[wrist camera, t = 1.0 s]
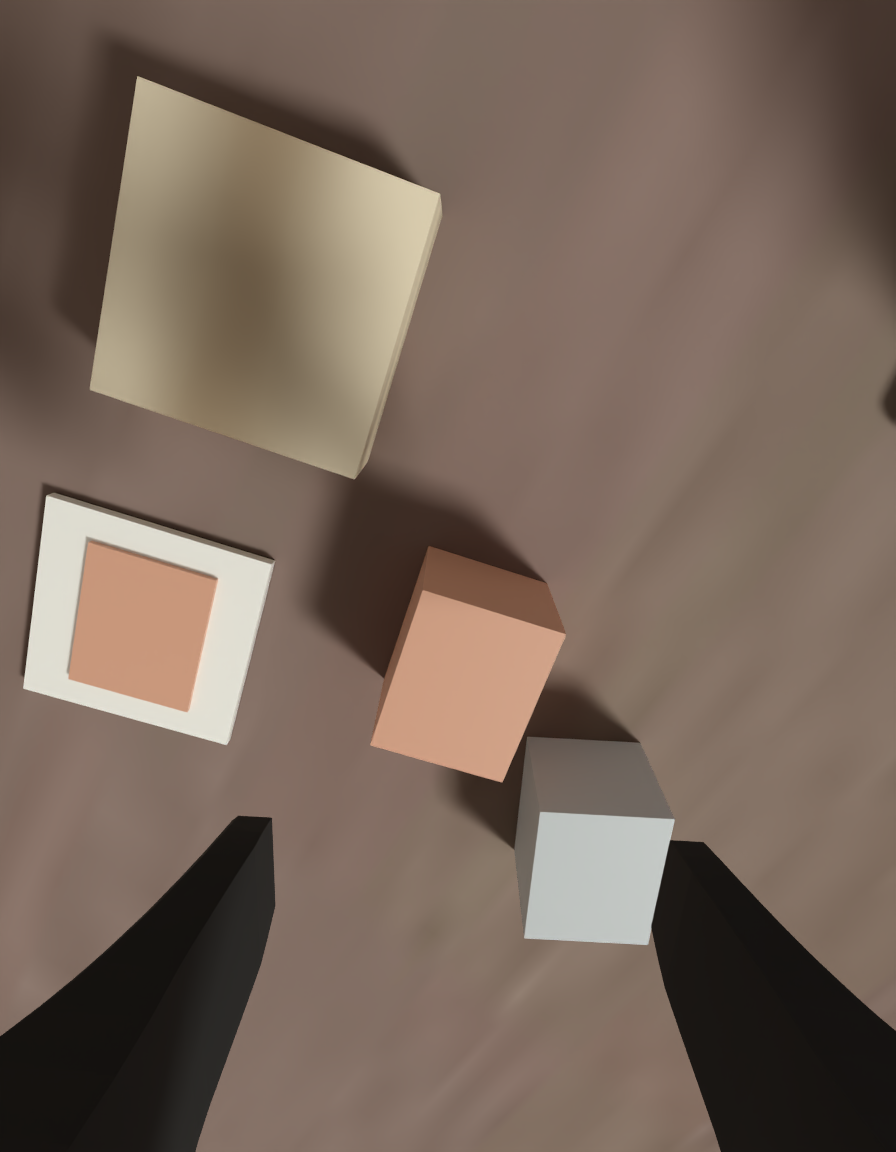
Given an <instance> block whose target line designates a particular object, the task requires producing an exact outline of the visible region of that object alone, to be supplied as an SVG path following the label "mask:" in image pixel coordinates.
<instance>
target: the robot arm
mask: <svg viewBox="0 0 896 1152" xmlns="http://www.w3.org/2000/svg"><path fill="white" fill-rule="evenodd" d="M274 909H275V885H274V860H273V835H272V818H267V817H249V816H237V817H236V818H235V819H234V820H232V821H231V823H230V824H229V825H228V826H227V827H226V828H225V829H224V830H223V832H222V833H221V834H220V835H219V836H218V837H217V838H216V840H215V841H214V842H213V843H212V844H211V845H210V846H209V847H208V848H207V850H206V851H205V852H204V853H203V854H202V855H201V856H200V857H199V858H198V859H197V861H196V862H195V863H194V864H193V865H192V866H191V867H190V868H189V869H188V870H187V871H186V872H185V873H184V875H183V876H182V877H181V878H180V879H179V880H178V881H177V882H176V883H175V884H174V885H173V886H172V887H171V888H170V889H169V890H168V891H167V892H166V893H165V894H164V895H163V896H162V897H161V898H160V899H159V900H158V901H157V902H156V903H155V904H154V905H153V906H152V907H151V908H150V909H149V910H148V911H147V912H146V913H145V914H144V915H143V916H142V917H141V918H140V919H139V920H138V921H137V922H136V923H135V924H134V925H133V926H132V927H130V928H129V929H128V930H127V931H126V932H125V933H124V934H123V935H122V936H121V937H120V938H119V939H118V940H117V941H116V942H115V943H114V944H112V945H111V946H110V947H109V948H108V949H107V950H106V951H105V952H104V953H103V954H102V955H100V956H99V957H98V958H97V959H96V960H95V961H94V962H92V963H91V964H90V965H89V966H88V967H87V968H86V969H84V970H83V971H82V972H81V973H80V974H79V975H77V976H76V977H75V978H74V979H73V980H72V981H70V982H69V983H68V984H67V985H65V986H64V987H63V988H62V989H61V990H59V991H58V992H57V993H56V994H55V995H53V996H52V997H51V998H50V999H48V1000H47V1001H46V1002H45V1003H43V1004H42V1005H41V1006H40V1007H38V1008H37V1009H36V1010H34V1011H33V1012H32V1013H30V1014H29V1015H28V1016H26V1017H25V1018H24V1019H23V1020H21V1021H20V1022H19V1023H17V1024H16V1025H15V1026H13V1027H12V1028H11V1029H9V1030H8V1031H7V1032H6V1033H4V1034H3V1035H1V1036H0V1152H195V1151H196V1147H197V1143H198V1140H199V1137H200V1134H201V1131H202V1128H203V1125H204V1122H205V1118H206V1115H207V1112H208V1109H209V1106H210V1103H211V1101H212V1098H213V1095H214V1092H215V1090H216V1087H217V1084H218V1082H219V1079H220V1076H221V1073H222V1071H223V1068H224V1065H225V1062H226V1060H227V1057H228V1054H229V1051H230V1049H231V1046H232V1043H233V1040H234V1038H235V1035H236V1032H237V1029H238V1027H239V1024H240V1021H241V1018H242V1016H243V1013H244V1010H245V1007H246V1005H247V1002H248V999H249V996H250V993H251V991H252V988H253V985H254V982H255V979H256V977H257V974H258V971H259V968H260V965H261V961H262V958H263V954H264V950H265V946H266V942H267V938H268V934H269V930H270V925H271V921H272V917H273V913H274ZM651 928H652V933H653V938H654V942H655V947H656V952H657V956H658V961H659V965H660V969H661V973H662V978H663V982H664V986H665V989H666V992H667V995H668V998H669V1001H670V1004H671V1007H672V1010H673V1013H674V1016H675V1019H676V1022H677V1025H678V1028H679V1031H680V1034H681V1037H682V1039H683V1042H684V1045H685V1048H686V1051H687V1054H688V1057H689V1059H690V1062H691V1065H692V1068H693V1071H694V1074H695V1077H696V1080H697V1082H698V1085H699V1088H700V1091H701V1094H702V1097H703V1100H704V1102H705V1105H706V1108H707V1111H708V1114H709V1117H710V1120H711V1123H712V1125H713V1128H714V1131H715V1134H716V1137H717V1141H718V1144H719V1147H720V1150H721V1152H896V1031H895V1030H894V1029H893V1028H891V1027H890V1026H889V1025H888V1024H887V1023H885V1022H884V1021H883V1020H882V1019H881V1018H880V1017H878V1016H877V1015H876V1014H875V1013H874V1012H873V1011H872V1010H870V1009H869V1008H868V1007H867V1006H866V1005H865V1004H864V1003H862V1002H861V1001H860V1000H859V999H858V998H857V997H856V996H855V995H854V994H853V993H852V992H850V991H849V990H848V989H847V988H846V987H845V986H844V985H843V984H842V983H841V982H840V981H839V980H838V979H836V978H835V977H834V976H833V975H832V974H831V973H830V972H829V971H828V970H827V969H826V968H825V967H824V966H823V965H822V964H820V963H819V962H818V961H817V960H816V959H815V958H814V957H813V956H812V955H811V954H810V953H809V952H808V951H807V950H806V949H805V948H804V947H803V946H802V945H801V944H800V943H799V942H798V941H797V940H796V939H795V938H794V937H793V936H792V935H791V934H790V933H789V932H788V931H787V930H786V929H785V928H784V927H783V926H782V925H781V924H780V923H779V922H778V921H777V920H776V919H775V918H774V916H773V915H772V914H771V913H770V912H769V911H768V910H767V909H766V908H765V907H764V906H763V905H762V904H761V903H760V902H759V901H758V900H757V899H756V898H755V896H754V895H753V894H752V893H751V892H750V891H749V890H748V889H747V888H746V887H745V886H744V885H743V884H742V883H741V882H740V880H739V879H738V878H737V877H736V876H735V875H734V874H733V873H732V872H731V871H730V870H729V869H728V868H727V866H726V865H725V864H724V863H723V862H722V861H721V860H720V859H719V858H718V857H717V856H716V855H715V854H714V853H713V852H712V851H711V849H710V848H709V847H708V846H707V845H706V844H705V843H704V842H690V841H673V840H670V842H669V847H668V851H667V856H666V860H665V865H664V869H663V874H662V879H661V883H660V888H659V892H658V897H657V901H656V906H655V911H654V915H653V920H652V924H651Z"/></svg>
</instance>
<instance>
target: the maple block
mask: <svg viewBox="0 0 896 1152" xmlns="http://www.w3.org/2000/svg"><path fill="white" fill-rule="evenodd" d="M441 218H442V207H441V198H440V194H439V193H436V192H434V191H431V190H429V189H426V188H424V187H421V186H419V185H416V184H413V183H411V182H408V181H406V180H403V179H401V178H398V177H395V176H393V175H390V174H388V173H385V172H383V171H380V170H377V169H375V168H372V167H370V166H367V165H365V164H362V163H359V162H357V161H354V160H352V159H349V158H347V157H344V156H341V155H339V154H336V153H334V152H331V151H329V150H326V149H323V148H321V147H318V146H316V145H313V144H311V143H308V142H306V141H303V140H300V139H298V138H295V137H293V136H290V135H288V134H285V133H282V132H280V131H277V130H275V129H272V128H270V127H267V126H264V125H262V124H259V123H257V122H254V121H252V120H249V119H246V118H244V117H241V116H239V115H236V114H234V113H231V112H228V111H226V110H223V109H221V108H218V107H216V106H213V105H210V104H208V103H205V102H203V101H200V100H198V99H195V98H193V97H190V96H187V95H185V94H182V93H180V92H177V91H175V90H172V89H169V88H167V87H164V86H162V85H159V84H157V83H154V82H151V81H149V80H146V79H144V78H141V77H139V76H137V81H136V88H135V95H134V101H133V108H132V114H131V121H130V127H129V134H128V141H127V147H126V154H125V160H124V167H123V173H122V180H121V187H120V193H119V200H118V206H117V213H116V219H115V226H114V233H113V239H112V246H111V252H110V259H109V265H108V272H107V278H106V285H105V292H104V298H103V305H102V311H101V318H100V324H99V331H98V338H97V344H96V351H95V357H94V364H93V370H92V377H91V384H90V390H92V391H95V392H98V393H101V394H104V395H107V396H110V397H113V398H116V399H119V400H121V401H124V402H127V403H130V404H133V405H136V406H139V407H142V408H145V409H148V410H151V411H154V412H157V413H160V414H163V415H166V416H169V417H172V418H175V419H178V420H180V421H183V422H186V423H189V424H192V425H195V426H198V427H201V428H204V429H207V430H210V431H213V432H216V433H219V434H222V435H225V436H228V437H231V438H234V439H236V440H239V441H242V442H245V443H248V444H251V445H254V446H257V447H260V448H263V449H266V450H269V451H272V452H275V453H278V454H281V455H284V456H287V457H290V458H293V459H295V460H298V461H301V462H304V463H307V464H310V465H313V466H316V467H319V468H322V469H325V470H328V471H331V472H334V473H337V474H340V475H343V476H346V477H349V478H351V479H354V480H355V478H356V477H357V476H358V474H359V473H360V472H361V470H362V469H363V468H364V466H365V465H366V464H367V462H368V459H369V456H370V453H371V449H372V446H373V443H374V440H375V436H376V433H377V430H378V426H379V423H380V420H381V416H382V413H383V410H384V407H385V403H386V400H387V397H388V393H389V390H390V387H391V383H392V380H393V377H394V373H395V370H396V367H397V364H398V360H399V357H400V354H401V350H402V347H403V344H404V340H405V337H406V334H407V331H408V327H409V324H410V321H411V317H412V314H413V311H414V307H415V304H416V301H417V297H418V294H419V291H420V288H421V284H422V281H423V278H424V274H425V271H426V268H427V264H428V261H429V258H430V255H431V251H432V248H433V245H434V241H435V238H436V235H437V231H438V228H439V225H440V221H441Z"/></svg>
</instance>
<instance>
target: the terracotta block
mask: <svg viewBox="0 0 896 1152" xmlns="http://www.w3.org/2000/svg"><path fill="white" fill-rule="evenodd" d="M565 636H566V633H565V630H564V627H563V625H562V622H561V619H560V617H559V614H558V611H557V609H556V606H555V603H554V601H553V598H552V595H551V593H550V590H549V587H548V585H547V583H544V582H541V581H538V580H535V579H532V578H529V577H525V576H522V575H519V574H516V573H513V572H510V571H507V570H503V569H500V568H497V567H494V566H491V565H488V564H484V563H481V562H478V561H475V560H472V559H469V558H466V557H462V556H459V555H456V554H453V553H450V552H447V551H444V550H440V549H437V548H434V547H431V546H428V549H427V552H426V555H425V558H424V561H423V564H422V567H421V570H420V573H419V576H418V579H417V582H416V585H415V588H414V591H413V594H412V597H411V600H410V603H409V606H408V609H407V612H406V615H405V618H404V621H403V624H402V627H401V630H400V633H399V636H398V639H397V642H396V645H395V648H394V651H393V654H392V657H391V660H390V663H389V666H388V669H387V672H386V675H385V678H384V682H383V687H382V692H381V697H380V701H379V706H378V711H377V716H376V720H375V725H374V730H373V735H372V739H371V744H370V745H371V746H375V747H378V748H382V749H385V750H389V751H392V752H396V753H399V754H403V755H407V756H410V757H414V758H417V759H421V760H424V761H428V762H431V763H435V764H438V765H442V766H445V767H449V768H452V769H456V770H459V771H463V772H466V773H470V774H474V775H477V776H481V777H484V778H488V779H491V780H495V781H498V782H503V780H504V778H505V775H506V773H507V771H508V768H509V766H510V764H511V761H512V759H513V757H514V754H515V752H516V750H517V747H518V745H519V743H520V741H521V738H522V736H523V734H524V731H525V729H526V727H527V724H528V722H529V720H530V717H531V715H532V713H533V710H534V708H535V706H536V703H537V701H538V699H539V696H540V694H541V692H542V689H543V687H544V685H545V682H546V680H547V678H548V675H549V673H550V671H551V668H552V666H553V664H554V662H555V659H556V657H557V655H558V652H559V650H560V648H561V645H562V643H563V641H564V638H565Z"/></svg>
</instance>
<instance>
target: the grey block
mask: <svg viewBox="0 0 896 1152" xmlns="http://www.w3.org/2000/svg"><path fill="white" fill-rule="evenodd" d="M674 820H675V819H674V817H673V814H672V812H671V810H670V808H669V805H668V803H667V801H666V799H665V797H664V794H663V792H662V790H661V788H660V786H659V783H658V781H657V779H656V777H655V774H654V772H653V770H652V768H651V766H650V763H649V761H648V759H647V757H646V754H645V752H644V750H643V748H642V746H641V743H636V742H617V741H599V740H580V739H562V738H543V737H527V742H526V751H525V760H524V768H523V777H522V786H521V795H520V804H519V813H518V822H517V831H516V839H515V848H514V851H515V860H516V869H517V878H518V887H519V896H520V905H521V914H522V924H523V933H524V938H529V939H548V940H566V941H585V942H603V943H622V944H640V945H648V942H649V937H650V932H651V924H652V920H653V915H654V911H655V906H656V901H657V897H658V892H659V888H660V883H661V879H662V874H663V869H664V865H665V860H666V856H667V851H668V847H669V842H670V839H671V834H672V830H673V825H674Z"/></svg>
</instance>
